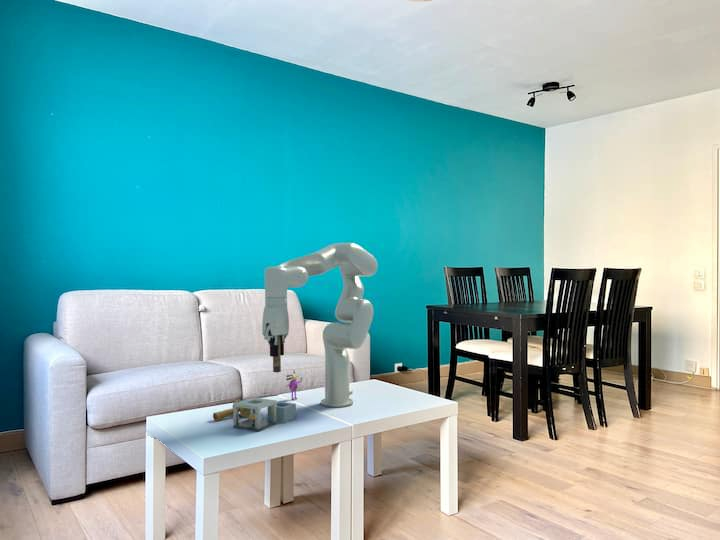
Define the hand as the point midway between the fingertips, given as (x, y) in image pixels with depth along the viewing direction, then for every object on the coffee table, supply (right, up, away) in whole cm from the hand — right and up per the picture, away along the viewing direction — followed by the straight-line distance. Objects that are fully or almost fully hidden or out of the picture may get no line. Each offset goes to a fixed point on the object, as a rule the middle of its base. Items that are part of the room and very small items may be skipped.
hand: (276, 355), depth 184 cm
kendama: (-15, -23, +5) cm, 27 cm away
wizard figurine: (+2, -23, +31) cm, 39 cm away
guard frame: (-6, -22, -7) cm, 24 cm away
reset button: (-6, -21, -7) cm, 23 cm away
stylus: (0, -6, 0) cm, 6 cm away
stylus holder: (+1, -23, +1) cm, 23 cm away
